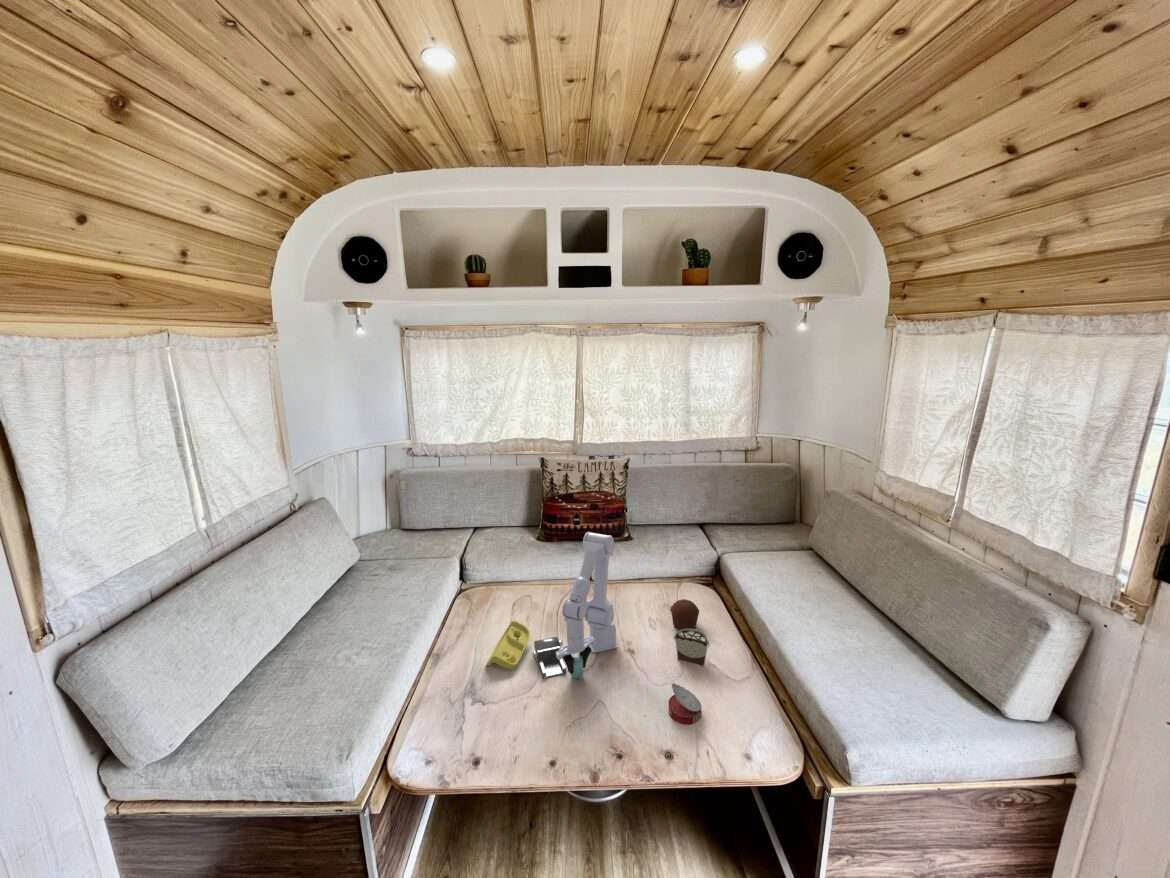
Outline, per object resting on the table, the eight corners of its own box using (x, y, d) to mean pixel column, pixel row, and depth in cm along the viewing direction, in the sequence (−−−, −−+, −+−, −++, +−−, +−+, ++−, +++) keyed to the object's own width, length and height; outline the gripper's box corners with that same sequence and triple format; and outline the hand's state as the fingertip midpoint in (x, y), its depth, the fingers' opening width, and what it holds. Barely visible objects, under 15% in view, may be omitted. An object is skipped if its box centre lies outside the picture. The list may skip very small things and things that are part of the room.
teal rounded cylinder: (581, 668, 168) (580, 651, 167) (584, 676, 164) (584, 659, 163) (569, 671, 167) (568, 654, 165) (572, 679, 163) (571, 662, 161)
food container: (711, 657, 174) (712, 632, 172) (708, 667, 168) (709, 642, 166) (677, 648, 179) (678, 624, 177) (673, 658, 173) (673, 633, 171)
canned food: (676, 713, 154) (681, 680, 157) (705, 725, 148) (710, 690, 150) (658, 717, 146) (663, 682, 149) (688, 730, 140) (693, 693, 142)
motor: (560, 646, 182) (559, 631, 181) (571, 672, 168) (570, 656, 167) (533, 651, 179) (532, 637, 178) (541, 678, 165) (541, 663, 164)
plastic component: (516, 666, 168) (490, 653, 169) (509, 681, 171) (483, 668, 171) (533, 629, 187) (510, 617, 187) (526, 643, 189) (504, 631, 190)
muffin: (697, 636, 186) (697, 612, 184) (668, 631, 190) (668, 608, 188) (700, 619, 197) (700, 596, 195) (672, 615, 201) (673, 592, 199)
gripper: (586, 620, 169) (587, 655, 172) (550, 635, 161) (552, 671, 164) (598, 630, 164) (599, 665, 166) (561, 646, 156) (563, 683, 159)
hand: (576, 669), depth 165 cm, fingers closed on teal rounded cylinder, 4 cm apart
